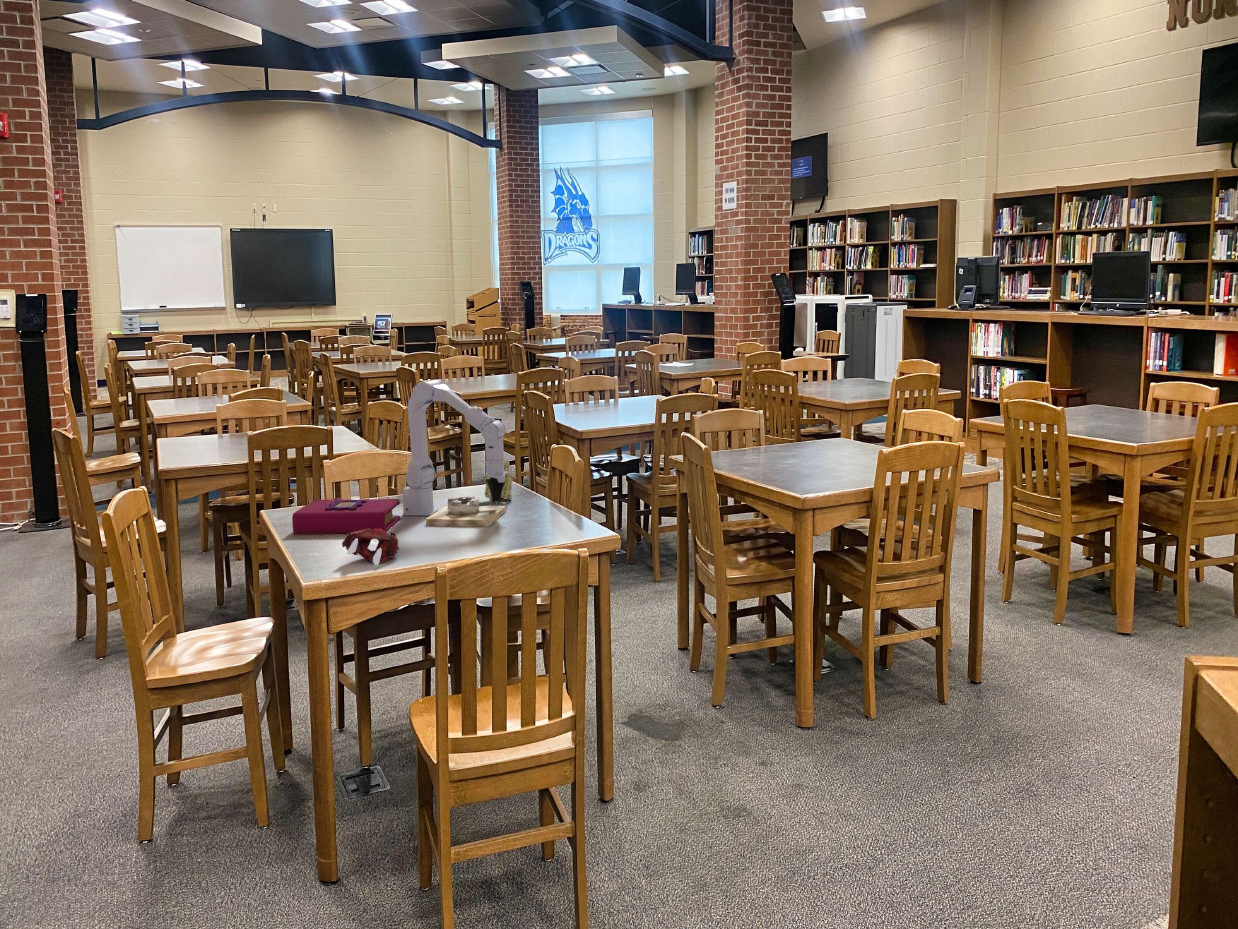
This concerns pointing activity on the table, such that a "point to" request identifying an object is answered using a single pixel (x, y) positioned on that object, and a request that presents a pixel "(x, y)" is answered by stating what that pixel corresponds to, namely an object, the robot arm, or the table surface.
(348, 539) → the dark red lumpy piece
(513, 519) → the table surface
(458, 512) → the grey boxy piece
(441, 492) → the table surface
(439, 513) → the base plate
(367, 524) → the book
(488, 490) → the mechanical component
